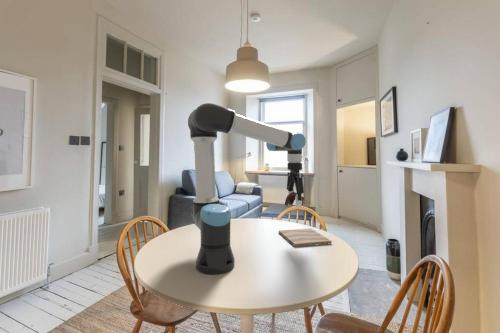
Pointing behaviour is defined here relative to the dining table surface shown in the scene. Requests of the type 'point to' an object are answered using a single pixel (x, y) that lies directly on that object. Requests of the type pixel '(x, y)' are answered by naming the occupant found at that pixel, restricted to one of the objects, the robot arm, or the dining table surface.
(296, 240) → the walnut board
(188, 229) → the dining table surface
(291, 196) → the brown arched figurine
